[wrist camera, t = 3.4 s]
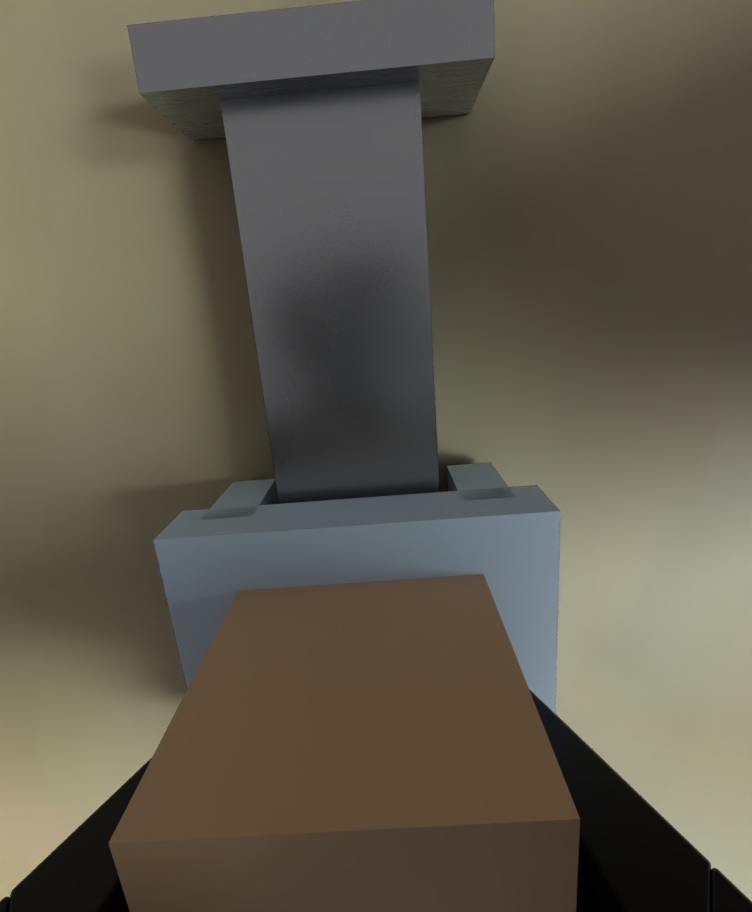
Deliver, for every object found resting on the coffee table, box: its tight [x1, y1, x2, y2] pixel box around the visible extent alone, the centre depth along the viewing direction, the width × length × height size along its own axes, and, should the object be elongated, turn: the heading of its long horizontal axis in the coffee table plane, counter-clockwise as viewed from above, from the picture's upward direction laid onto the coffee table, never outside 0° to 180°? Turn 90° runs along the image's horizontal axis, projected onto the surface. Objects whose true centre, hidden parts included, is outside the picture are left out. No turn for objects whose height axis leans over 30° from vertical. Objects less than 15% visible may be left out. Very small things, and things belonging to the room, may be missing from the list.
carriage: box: [108, 463, 580, 912], centre depth 8 cm, size 6×6×7 cm
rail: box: [127, 0, 494, 504], centre depth 10 cm, size 5×20×2 cm, turn 5°
